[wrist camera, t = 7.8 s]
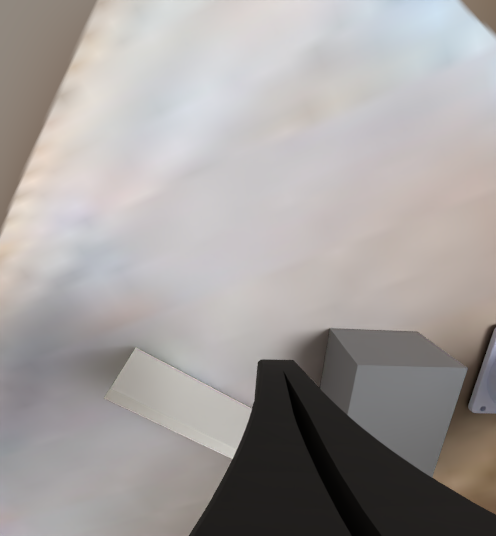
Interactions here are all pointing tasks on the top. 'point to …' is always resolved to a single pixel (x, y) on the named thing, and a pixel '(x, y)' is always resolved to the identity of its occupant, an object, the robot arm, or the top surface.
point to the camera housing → (394, 389)
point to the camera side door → (180, 403)
